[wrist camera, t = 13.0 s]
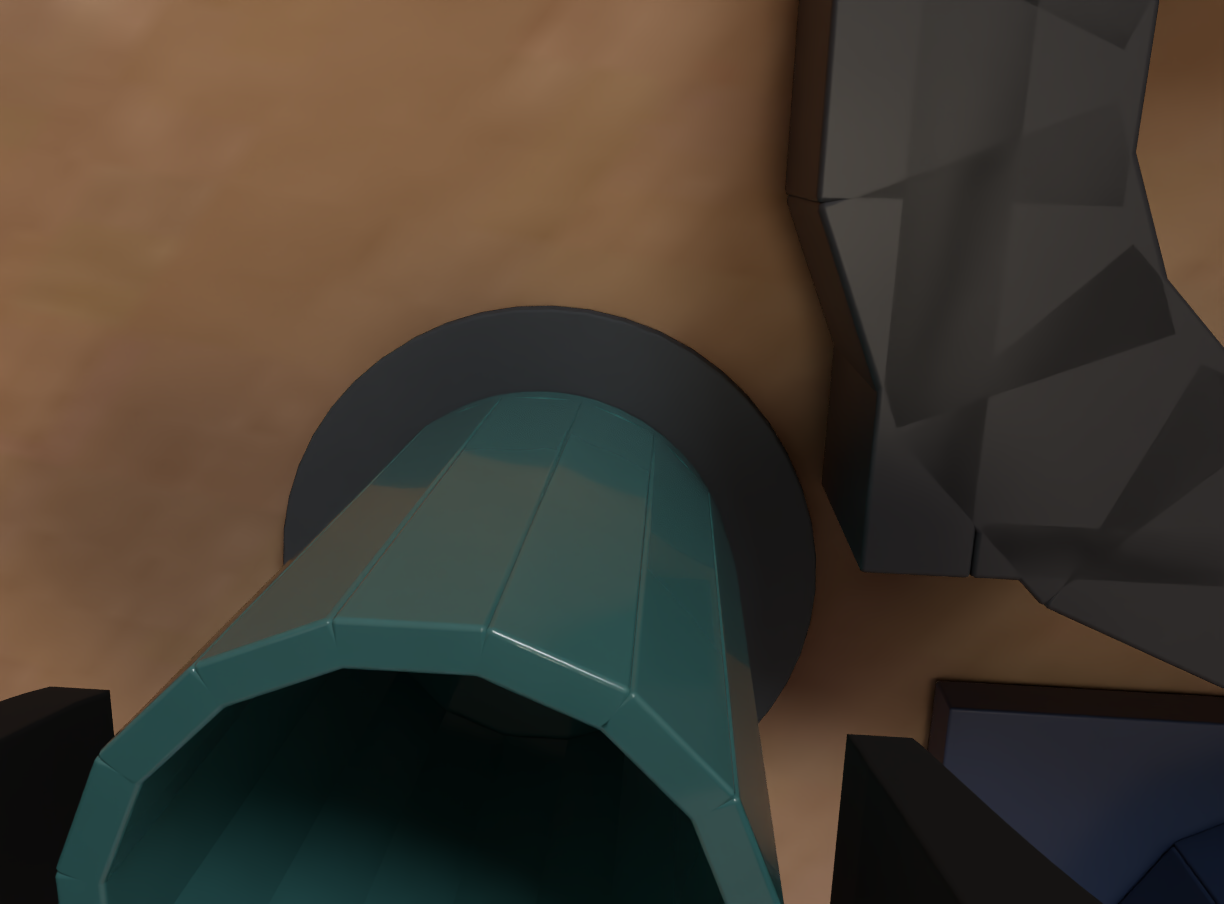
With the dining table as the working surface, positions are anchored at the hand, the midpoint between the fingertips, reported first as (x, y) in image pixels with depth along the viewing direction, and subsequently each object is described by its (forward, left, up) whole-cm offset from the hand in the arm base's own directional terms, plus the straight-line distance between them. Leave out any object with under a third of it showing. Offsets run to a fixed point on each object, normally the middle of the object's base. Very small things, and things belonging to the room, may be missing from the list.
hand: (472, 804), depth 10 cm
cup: (0, 0, -6) cm, 6 cm away
